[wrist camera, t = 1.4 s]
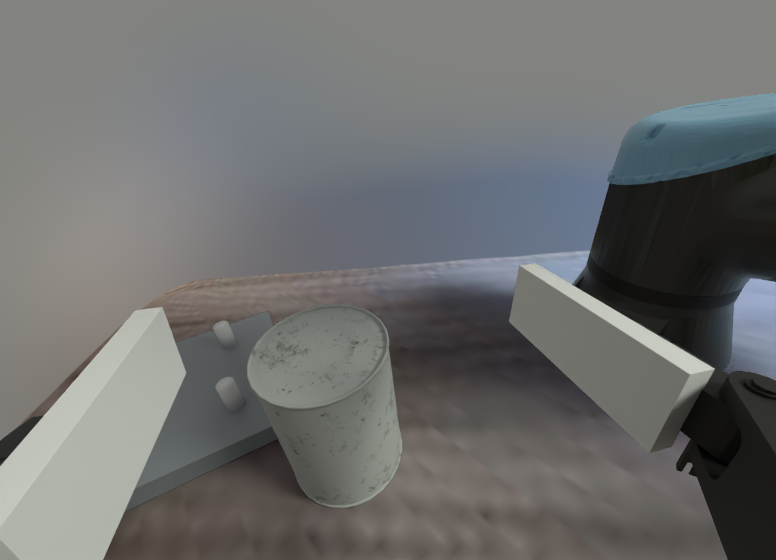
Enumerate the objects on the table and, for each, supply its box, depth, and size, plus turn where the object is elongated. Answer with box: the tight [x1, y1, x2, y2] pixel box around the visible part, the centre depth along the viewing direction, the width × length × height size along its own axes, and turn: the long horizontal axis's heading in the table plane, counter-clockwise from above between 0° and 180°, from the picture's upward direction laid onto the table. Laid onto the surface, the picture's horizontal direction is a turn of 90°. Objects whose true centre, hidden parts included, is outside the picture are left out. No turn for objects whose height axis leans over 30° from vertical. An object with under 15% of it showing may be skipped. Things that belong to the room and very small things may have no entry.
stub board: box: [124, 311, 278, 512], centre depth 33 cm, size 20×18×5 cm
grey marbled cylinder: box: [247, 304, 402, 508], centre depth 25 cm, size 10×10×12 cm
